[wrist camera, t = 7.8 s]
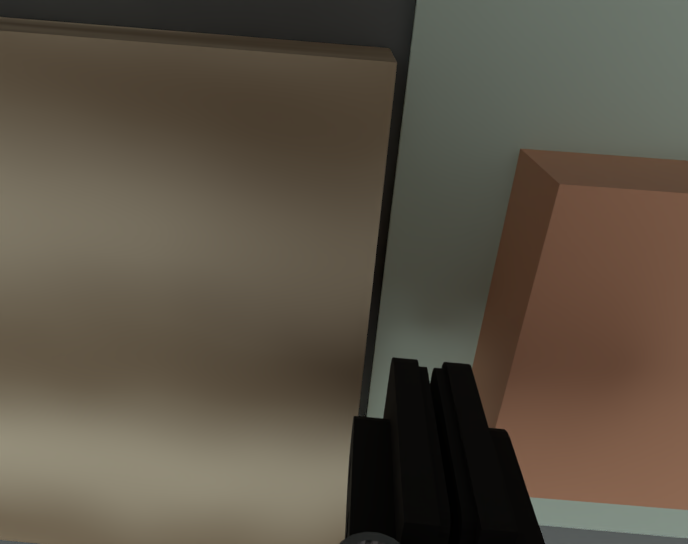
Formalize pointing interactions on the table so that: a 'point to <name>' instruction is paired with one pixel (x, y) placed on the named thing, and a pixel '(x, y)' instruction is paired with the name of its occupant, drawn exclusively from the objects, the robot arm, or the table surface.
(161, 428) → the board
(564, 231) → the thick terracotta block
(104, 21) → the table surface
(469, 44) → the mat
